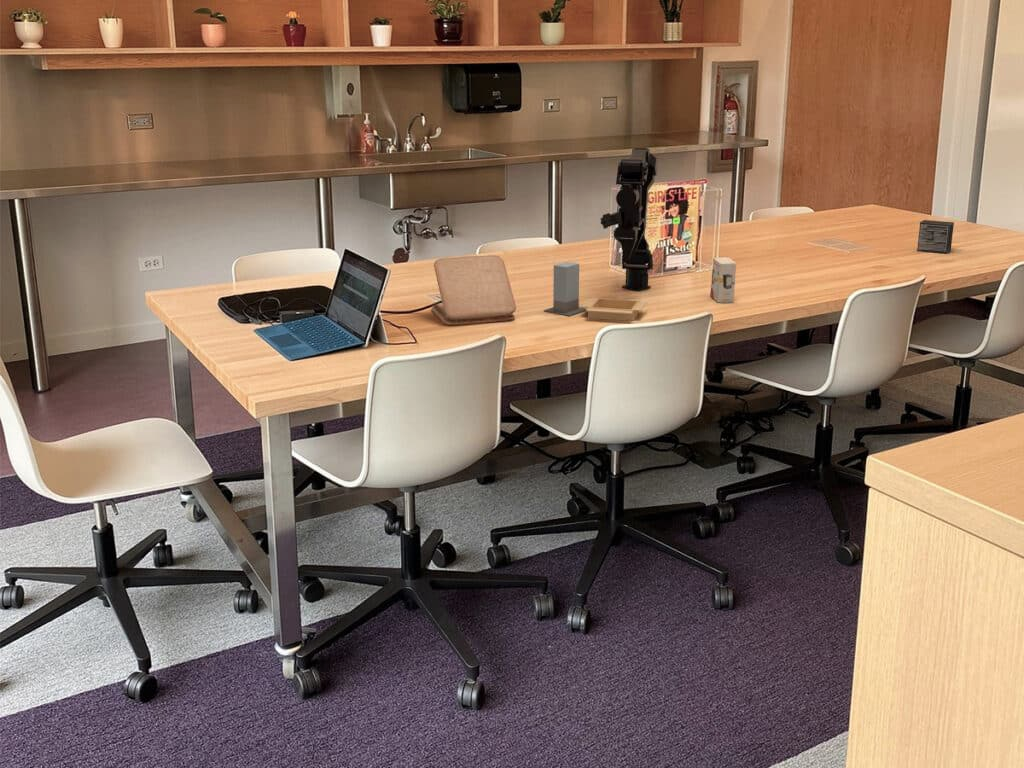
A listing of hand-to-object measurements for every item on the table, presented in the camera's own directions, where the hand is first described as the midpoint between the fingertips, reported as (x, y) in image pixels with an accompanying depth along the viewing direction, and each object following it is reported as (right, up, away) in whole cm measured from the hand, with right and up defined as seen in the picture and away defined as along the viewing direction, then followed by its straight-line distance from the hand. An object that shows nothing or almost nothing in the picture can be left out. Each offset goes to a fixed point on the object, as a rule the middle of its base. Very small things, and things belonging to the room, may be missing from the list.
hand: (629, 257), depth 324 cm
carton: (-5, -17, -10) cm, 21 cm away
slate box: (-19, -16, -7) cm, 25 cm away
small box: (+115, +10, +72) cm, 136 cm away
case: (-45, -18, -10) cm, 49 cm away
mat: (-19, -16, -7) cm, 25 cm away
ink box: (+28, -12, +5) cm, 31 cm away
